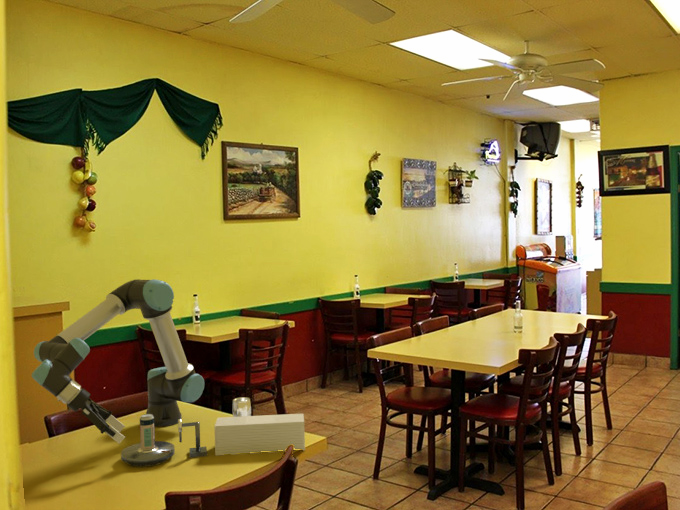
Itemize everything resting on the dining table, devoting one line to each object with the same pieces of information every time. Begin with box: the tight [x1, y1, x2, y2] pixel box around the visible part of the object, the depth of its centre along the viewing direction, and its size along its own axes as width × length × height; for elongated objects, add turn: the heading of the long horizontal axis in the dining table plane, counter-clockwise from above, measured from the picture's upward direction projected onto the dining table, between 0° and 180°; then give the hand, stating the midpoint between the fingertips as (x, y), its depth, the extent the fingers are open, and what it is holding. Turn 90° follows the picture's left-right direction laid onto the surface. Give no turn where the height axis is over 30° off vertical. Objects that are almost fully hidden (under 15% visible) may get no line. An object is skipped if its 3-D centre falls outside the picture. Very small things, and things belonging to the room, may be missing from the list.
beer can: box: [139, 413, 156, 451], centre depth 223 cm, size 5×5×12 cm
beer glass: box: [232, 396, 252, 417], centre depth 244 cm, size 7×7×15 cm
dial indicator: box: [177, 419, 208, 459], centre depth 226 cm, size 6×10×13 cm, turn 104°
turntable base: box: [127, 458, 169, 468], centre depth 223 cm, size 14×14×1 cm
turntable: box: [120, 440, 175, 465], centre depth 223 cm, size 18×18×2 cm
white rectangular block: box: [213, 413, 306, 456], centre depth 232 cm, size 32×11×11 cm, turn 95°
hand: (122, 434), depth 220 cm, fingers open, 13 cm apart
